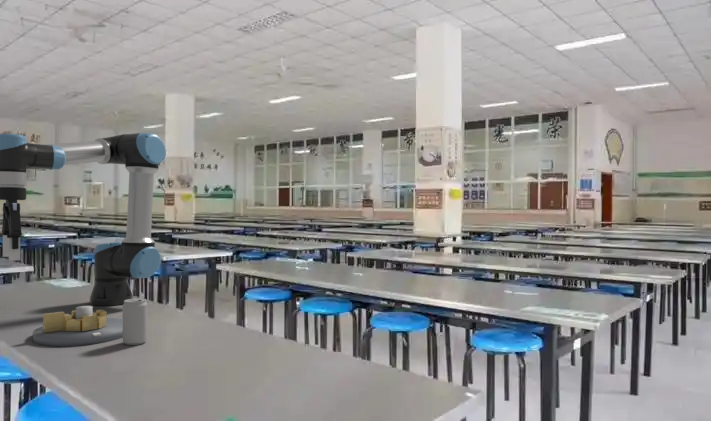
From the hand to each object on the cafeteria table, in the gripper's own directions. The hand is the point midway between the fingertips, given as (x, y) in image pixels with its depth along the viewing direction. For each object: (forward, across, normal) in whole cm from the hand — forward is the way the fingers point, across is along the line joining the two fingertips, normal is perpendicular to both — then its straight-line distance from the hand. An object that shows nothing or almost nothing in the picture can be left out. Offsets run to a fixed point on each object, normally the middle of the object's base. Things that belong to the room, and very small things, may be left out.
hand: (11, 258), depth 160 cm
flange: (+22, +15, +16) cm, 31 cm away
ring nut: (+20, +15, +14) cm, 29 cm away
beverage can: (+22, +34, +25) cm, 48 cm away
